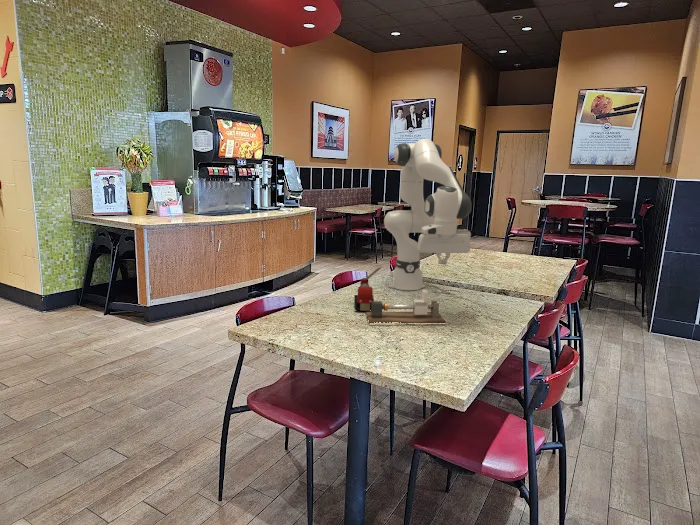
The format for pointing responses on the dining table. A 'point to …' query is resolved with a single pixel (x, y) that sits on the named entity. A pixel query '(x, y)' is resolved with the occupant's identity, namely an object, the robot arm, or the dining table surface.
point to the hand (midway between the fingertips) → (442, 263)
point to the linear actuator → (410, 316)
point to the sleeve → (421, 304)
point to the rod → (378, 306)
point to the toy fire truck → (364, 294)
